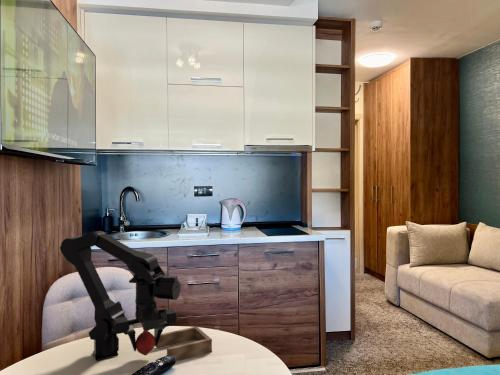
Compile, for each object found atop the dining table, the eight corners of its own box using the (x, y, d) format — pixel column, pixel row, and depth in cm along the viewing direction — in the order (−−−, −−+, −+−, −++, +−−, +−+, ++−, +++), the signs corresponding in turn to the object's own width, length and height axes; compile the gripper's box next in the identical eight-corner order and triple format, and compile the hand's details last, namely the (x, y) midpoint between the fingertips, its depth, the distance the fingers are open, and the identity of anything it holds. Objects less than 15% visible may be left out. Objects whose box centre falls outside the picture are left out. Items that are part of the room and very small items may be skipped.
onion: (149, 360, 105) (149, 333, 105) (131, 358, 106) (131, 332, 106) (158, 351, 111) (158, 326, 111) (141, 350, 112) (141, 324, 112)
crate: (168, 363, 106) (168, 349, 106) (156, 347, 116) (156, 335, 116) (211, 351, 113) (211, 339, 113) (196, 337, 124) (196, 326, 124)
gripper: (118, 310, 97) (118, 368, 97) (184, 299, 106) (184, 351, 106) (111, 299, 106) (111, 351, 106) (171, 290, 116) (171, 338, 116)
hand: (145, 348), depth 108 cm, fingers closed on onion, 6 cm apart
